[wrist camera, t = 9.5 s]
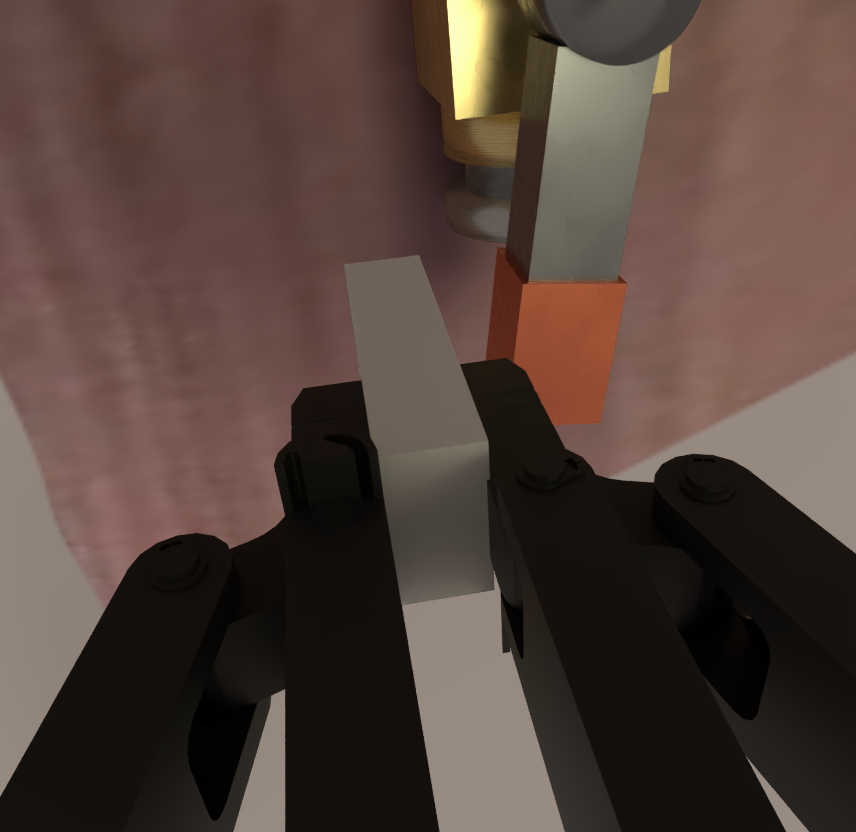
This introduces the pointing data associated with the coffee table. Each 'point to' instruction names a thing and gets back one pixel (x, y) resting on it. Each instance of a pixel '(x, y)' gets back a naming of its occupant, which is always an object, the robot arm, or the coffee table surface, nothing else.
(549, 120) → the lever
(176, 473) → the coffee table surface
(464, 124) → the pipe valve
